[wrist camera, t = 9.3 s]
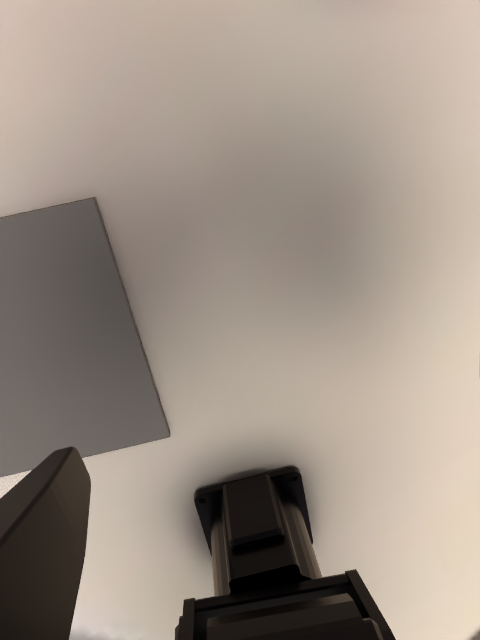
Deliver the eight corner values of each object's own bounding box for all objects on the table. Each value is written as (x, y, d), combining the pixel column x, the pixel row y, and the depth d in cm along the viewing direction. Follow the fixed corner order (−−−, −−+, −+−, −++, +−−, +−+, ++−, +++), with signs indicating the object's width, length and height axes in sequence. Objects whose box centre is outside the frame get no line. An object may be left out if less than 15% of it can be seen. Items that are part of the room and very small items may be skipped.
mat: (170, 432, 24) (169, 436, 23) (-62, 487, 23) (-66, 493, 23) (94, 197, 19) (92, 198, 18) (-202, 261, 18) (-210, 263, 18)
